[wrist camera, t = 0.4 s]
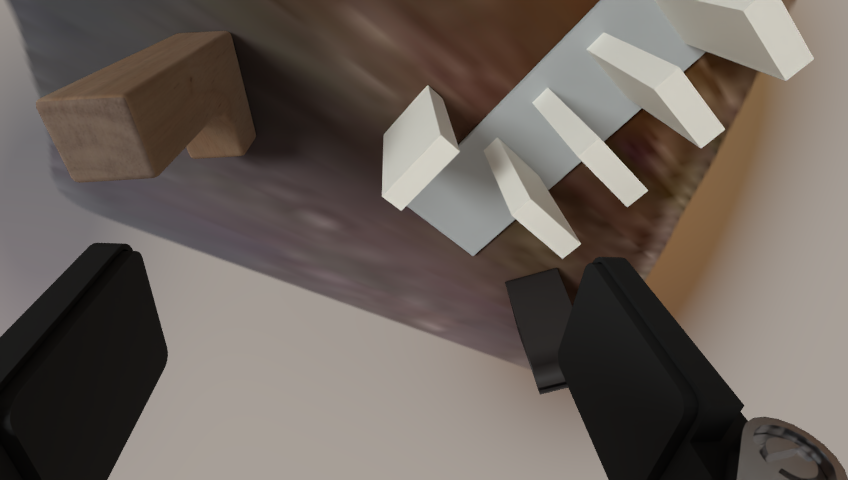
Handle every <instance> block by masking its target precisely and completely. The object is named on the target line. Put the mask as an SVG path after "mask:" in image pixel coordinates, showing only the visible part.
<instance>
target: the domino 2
mask: <svg viewBox="0 0 848 480" xmlns="http://www.w3.org/2000/svg"><path fill="white" fill-rule="evenodd" d="M484 153H485V155H486V158H487V160H488V162H489V165H490V167H491V169H492V172H493V174H494V176H495V178H496V181H497V183H498V185H499V188H500V190H501V192H502V195H503V197H504V199H505V201H506V204H507V206H508V208H509V211H510V213H511V215H512V216H513V217H514V218H515V219H516V220H518V221H519V222H520V223H521V224H522V225H523V226H525V227H526V228H527V229H528V230H529V231H530V232H532V233H533V234H534V235H535V236H536V237H538V238H539V239H540V240H541V241H542V242H543V243H545V244H546V245H547V246H548V247H549V248H550V249H552V250H553V251H554V252H555V253H556V254H558V255H559V256H560V257H561V258H562V259H563V258H564V257H565V256H567V255H568V254H569V253H570V252H572V251H573V250H574V249H576V248H577V247H578V246H579V245H581V243H580V241H579V240H578V238H577V237H576V235H575V233H574V232H573V230H572V229H571V227H570V225H569V224H568V222H567V220H566V219H565V217H564V216H563V214H562V212H561V211H560V209H559V207H558V206H557V204H556V203H555V201H554V199H553V198H552V196H551V195H550V193H549V191H548V190H547V188H546V186H545V185H544V183H543V182H542V180H541V178H540V177H539V175H538V174H537V173H535V172H534V171H533V170H532V169H531V168H530V167H529V166H528V165H527V164H526V163H525V162H524V161H523V160H522V159H521V158H520V157H518V156H517V155H516V154H515V153H514V152H513V151H512V150H511V149H510V148H509V147H508V146H507V145H506V144H505V143H504V142H502V141H501V140H500V139H499V138H498V137H497V138H496V139H495V140H494V141H493V142H492V143H491V144H490V145H489V146H488V147H487V148H486V149H485V150H484Z"/></svg>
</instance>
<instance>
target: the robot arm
mask: <svg viewBox="0 0 848 480" xmlns="http://www.w3.org/2000/svg"><path fill="white" fill-rule="evenodd" d="M167 357H168V351H167V346H166V343H165V339H164V335H163V331H162V328H161V324H160V321H159V317H158V313H157V310H156V306H155V302H154V298H153V295H152V291H151V287H150V284H149V280H148V276H147V273H146V269H145V266H144V262H143V258H142V256H141V254H140V253H139V252H137V251H133V250H132V248H131V247H130V246H129V245H128V244H116V243H94V244H92V245H90V246H89V247H88V248H87V249H86V250H85V251H84V252H83V253H82V254H81V255H80V256H79V257H78V258H77V259H76V260H75V262H73V264H72V265H71V266H70V267H69V268H68V269H67V270H66V271H65V272H64V273H63V274H62V275H61V276H60V277H59V278H58V279H57V280H56V281H55V282H54V283H53V284H52V285H51V286H50V287H49V288H48V289H47V290H46V291H45V292H44V293H43V294H42V295H41V296H40V297H39V298H38V299H37V300H36V301H35V302H34V303H33V304H32V305H31V307H29V309H27V310H26V312H25V313H24V314H23V315H22V316H21V317H20V318H19V319H18V320H17V321H16V322H15V323H14V324H13V325H12V326H11V327H10V328H9V329H8V330H7V331H6V332H5V333H4V334H3V335H2V336H1V337H0V480H107V479H108V477H109V475H110V473H111V471H112V469H113V467H114V466H115V464H116V462H117V460H118V458H119V456H120V454H121V452H122V450H123V448H124V446H125V444H126V442H127V440H128V438H129V436H130V434H131V432H132V430H133V428H134V427H135V425H136V422H137V421H138V419H139V417H140V415H141V413H142V411H143V409H144V407H145V405H146V403H147V401H148V399H149V397H150V395H151V393H152V391H153V390H154V387H155V386H156V384H157V382H158V380H159V378H160V376H161V374H162V372H163V370H164V368H165V366H166V362H167ZM558 363H559V367H560V369H561V371H562V374H563V376H564V378H565V381H566V383H567V385H568V388H569V390H570V392H571V394H572V397H573V399H574V401H575V404H576V406H577V408H578V410H579V413H580V415H581V417H582V420H583V422H584V424H585V426H586V429H587V431H588V433H589V436H590V438H591V440H592V442H593V445H594V447H595V449H596V452H597V454H598V456H599V459H600V461H601V463H602V465H603V468H604V470H605V472H606V474H607V477H608V479H609V480H848V478H847V475H846V472H845V469H844V468H843V466H842V465H841V464H840V462H839V461H838V459H837V458H836V456H835V455H834V454H833V453H832V452H831V451H830V450H828V448H827V447H826V446H825V445H824V444H822V443H821V442H820V441H818V440H817V439H816V438H814V437H813V436H812V435H810V434H809V433H807V432H806V431H804V430H802V429H800V428H798V427H796V426H795V425H793V424H790V423H787V422H785V421H782V420H779V419H774V418H769V417H758V418H753V419H751V420H750V421H747V420H746V418H745V417H744V416H743V414H742V413H741V412H740V411H741V410H742V408H743V407H744V405H743V403H742V402H741V401H740V400H739V398H738V397H737V396H736V395H735V394H734V392H733V391H732V390H731V388H730V387H729V386H728V385H727V383H726V382H725V381H724V380H723V379H722V377H721V376H720V375H719V374H718V372H717V371H716V370H715V369H714V367H713V366H712V365H711V364H710V362H709V361H708V360H707V359H706V358H705V356H704V355H703V354H702V353H701V351H700V350H699V349H698V347H697V346H696V345H695V344H694V343H693V341H692V340H691V339H690V338H689V336H688V335H687V334H686V333H685V331H684V330H683V329H682V328H681V326H680V325H679V324H678V323H677V321H676V320H675V319H674V318H673V316H672V315H671V314H670V313H669V312H668V310H667V309H666V308H665V307H664V306H663V304H662V303H661V302H660V300H659V299H658V298H657V297H656V295H655V294H654V293H653V292H652V291H651V290H650V288H649V287H648V286H647V284H646V283H645V282H644V280H643V279H642V278H641V277H640V276H639V274H638V273H637V272H636V271H635V269H634V268H633V267H632V266H631V264H630V263H629V262H628V261H627V260H626V259H625V258H616V257H598V258H596V259H595V260H594V261H593V263H589V264H588V265H587V266H586V268H585V270H584V273H583V276H582V280H581V283H580V286H579V289H578V292H577V295H576V298H575V301H574V304H573V307H572V310H571V313H570V316H569V319H568V322H567V325H566V329H565V332H564V335H563V338H562V341H561V344H560V347H559V350H558Z"/></svg>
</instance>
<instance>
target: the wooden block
mask: <svg viewBox="0 0 848 480" xmlns="http://www.w3.org/2000/svg"><path fill="white" fill-rule="evenodd" d="M36 108H37V110H38V112H39V114H40V116H41V118H42V120H43V122H44V124H45V126H46V128H47V130H48V132H49V134H50V136H51V138H52V140H53V142H54V144H55V146H56V148H57V150H58V152H59V154H60V156H61V158H62V160H63V162H64V164H65V166H66V168H67V170H68V172H69V174H70V176H71V178H72V179H73V180H74V181H76V182H96V181H112V180H129V179H145V178H155V177H157V176H159V175H160V174H161V173H162V171H163V170H164V169H165V168H166V167H167V166H168V165H169V164H170V163H171V162H172V161H173V160H174V159H175V158H176V157H177V156H178V155H179V154H180V152H181V151H182V150H183V149H184V148H185V147H186V148H187V150H188V152H189V154H190V156H191V157H192V158H194V159H199V158H216V157H233V156H243V155H245V153H246V152H247V150H248V149H249V147H250V146H251V144H252V143H253V141H254V139H255V138H256V133H255V129H254V124H253V120H252V116H251V112H250V108H249V104H248V100H247V96H246V92H245V88H244V84H243V80H242V76H241V72H240V68H239V64H238V60H237V56H236V52H235V48H234V44H233V39H232V36H231V34H230V32H227V31H211V32H192V33H177V34H175V35H173V36H171V37H169V38H167V39H165V40H162V41H160V42H158V43H156V44H154V45H152V46H150V47H148V48H146V49H144V50H141V51H139V52H137V53H135V54H133V55H131V56H129V57H126V58H124V59H122V60H120V61H118V62H116V63H114V64H112V65H110V66H107V67H105V68H103V69H101V70H99V71H97V72H95V73H93V74H91V75H88V76H86V77H84V78H82V79H80V80H78V81H76V82H74V83H72V84H69V85H67V86H65V87H63V88H61V89H59V90H57V91H55V92H53V93H50V94H48V95H46V96H44V97H42V98H40V99H39V100H37V102H36Z"/></svg>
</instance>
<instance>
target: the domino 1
mask: <svg viewBox="0 0 848 480" xmlns="http://www.w3.org/2000/svg"><path fill="white" fill-rule="evenodd" d="M459 152H460V150H459V147H458V144H457V141H456V138H455V135H454V132H453V129H452V126H451V123H450V120H449V116H448V113H447V110H446V107H445V104H444V101H443V98H441V97H440V96H439V95H438V94H437V93H436V92H435V91H434V90H433V89H432V88H431V87H430V86H428V85H427V86H426V87H425V89H424V90H423V91H422V92H421V93H420V94H419V95H418V96H417V98H416V99H415V100H414V101H413V102H412V103H411V104H410V105H409V107H408V108H407V109H406V110H405V111H404V112H403V113H402V114H401V116H400V117H399V118H398V119H397V120H396V121H395V122H394V123H393V125H392V126H391V127H390V128H389V129H388V130H387V131H386V132H385V134H384V135H383V173H382V197H383V198H385V199H386V200H387V201H389V202H390V203H391V204H393V205H394V206H395V207H397V208H398V209H399V210H401V211H402V210H403V209H404V208H405V207H406V206H407V205H408V204H409V203H410V202H411V201H412V200H413V199H414V198H415V197H416V196H417V195H418V194H419V193H420V192H421V191H422V190H423V189H424V188H425V187H426V186H427V185H428V184H429V182H430V181H431V180H432V179H433V178H434V177H435V176H436V175H437V174H438V173H439V172H440V171H441V170H442V169H443V168H444V167H445V166H446V165H447V164H448V163H449V162H450V161H451V160H452V159H453V158H454V157H455V156H456V155H457V154H458V153H459Z"/></svg>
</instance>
